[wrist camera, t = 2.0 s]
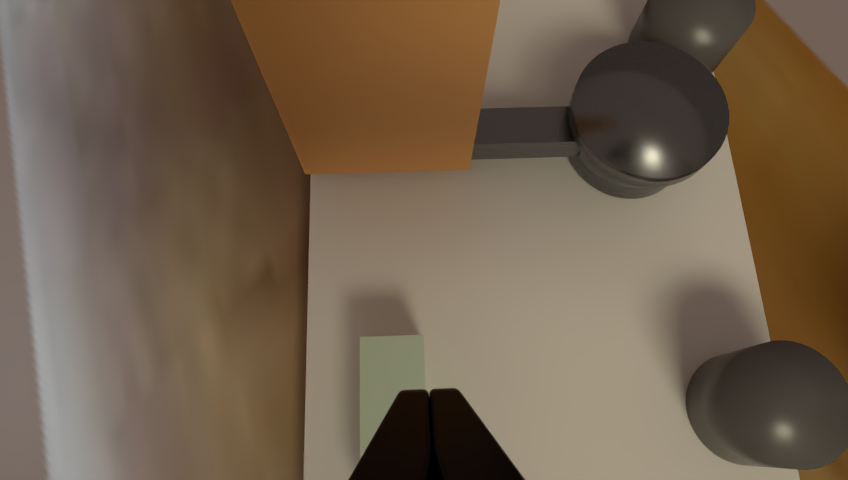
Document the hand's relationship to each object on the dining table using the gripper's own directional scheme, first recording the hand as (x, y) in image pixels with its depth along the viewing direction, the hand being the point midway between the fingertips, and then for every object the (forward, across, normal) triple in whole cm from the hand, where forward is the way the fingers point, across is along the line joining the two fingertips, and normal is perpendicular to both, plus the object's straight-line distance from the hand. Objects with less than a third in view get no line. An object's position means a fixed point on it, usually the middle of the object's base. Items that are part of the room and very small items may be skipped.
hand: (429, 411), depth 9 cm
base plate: (+14, -4, +5) cm, 15 cm away
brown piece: (+15, -3, +1) cm, 16 cm away
